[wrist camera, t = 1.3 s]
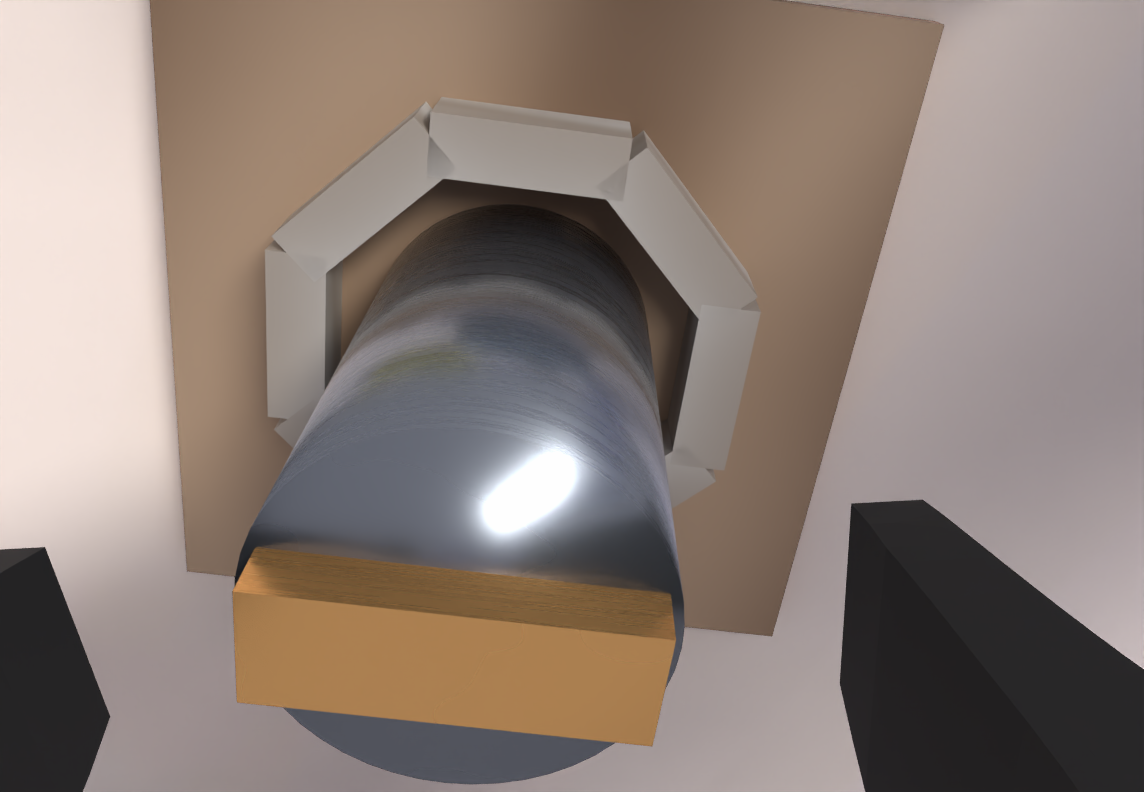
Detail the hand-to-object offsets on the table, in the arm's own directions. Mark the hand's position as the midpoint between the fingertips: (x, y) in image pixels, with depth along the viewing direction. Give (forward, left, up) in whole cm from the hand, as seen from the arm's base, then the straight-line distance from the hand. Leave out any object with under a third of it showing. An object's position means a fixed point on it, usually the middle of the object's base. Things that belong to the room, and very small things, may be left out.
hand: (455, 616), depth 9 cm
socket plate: (0, 0, -7) cm, 7 cm away
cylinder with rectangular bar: (0, 0, -6) cm, 6 cm away
